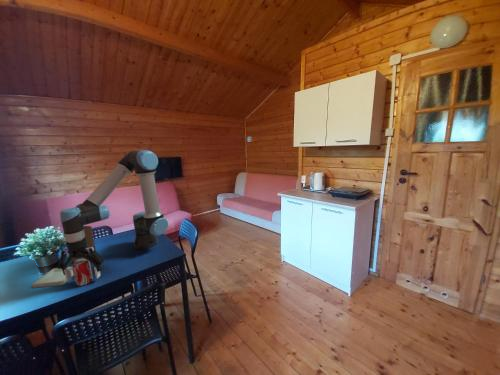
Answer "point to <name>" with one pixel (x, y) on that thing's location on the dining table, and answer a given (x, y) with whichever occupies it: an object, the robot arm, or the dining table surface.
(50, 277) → the tray
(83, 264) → the soda can
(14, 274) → the dining table surface
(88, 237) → the block
